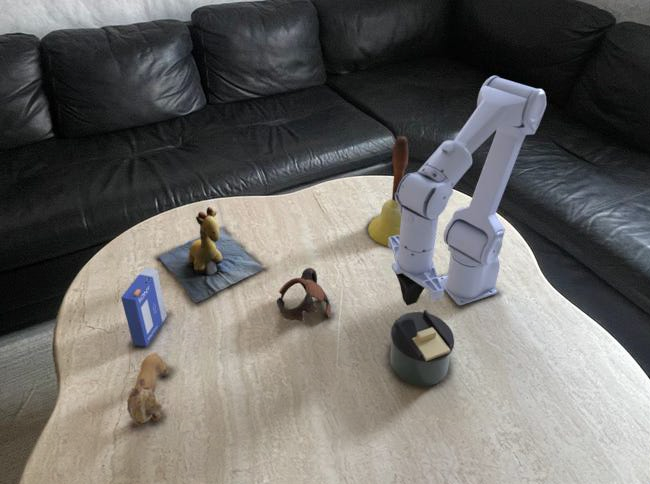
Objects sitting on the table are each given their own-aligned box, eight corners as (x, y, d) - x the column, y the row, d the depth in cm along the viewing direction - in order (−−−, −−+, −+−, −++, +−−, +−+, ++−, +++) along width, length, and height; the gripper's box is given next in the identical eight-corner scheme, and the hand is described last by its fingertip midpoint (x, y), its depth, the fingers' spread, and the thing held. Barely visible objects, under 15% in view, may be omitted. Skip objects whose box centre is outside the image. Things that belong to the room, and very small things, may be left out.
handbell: (371, 212, 129) (376, 122, 116) (421, 218, 126) (431, 127, 114) (365, 243, 118) (370, 148, 106) (419, 250, 116) (430, 154, 104)
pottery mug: (333, 332, 96) (312, 311, 91) (290, 340, 100) (268, 320, 95) (336, 276, 105) (317, 254, 100) (296, 285, 108) (276, 265, 104)
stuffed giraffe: (195, 303, 102) (186, 237, 95) (158, 258, 114) (148, 197, 107) (263, 270, 111) (260, 208, 104) (222, 232, 123) (216, 174, 116)
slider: (411, 340, 86) (412, 333, 85) (435, 332, 87) (436, 325, 87) (425, 361, 82) (427, 353, 81) (450, 352, 84) (451, 344, 83)
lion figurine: (168, 440, 78) (159, 403, 73) (131, 448, 77) (120, 411, 72) (170, 361, 90) (162, 324, 86) (138, 366, 89) (129, 330, 85)
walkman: (146, 347, 93) (134, 298, 87) (133, 344, 93) (120, 295, 88) (168, 314, 100) (158, 267, 94) (155, 312, 100) (144, 265, 94)
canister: (377, 347, 93) (380, 317, 89) (428, 330, 96) (432, 300, 92) (407, 396, 84) (411, 366, 80) (462, 375, 88) (468, 345, 84)
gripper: (374, 221, 88) (371, 280, 95) (419, 276, 77) (412, 339, 83) (410, 212, 91) (404, 270, 97) (459, 264, 79) (448, 326, 86)
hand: (410, 301), depth 90 cm, fingers closed
